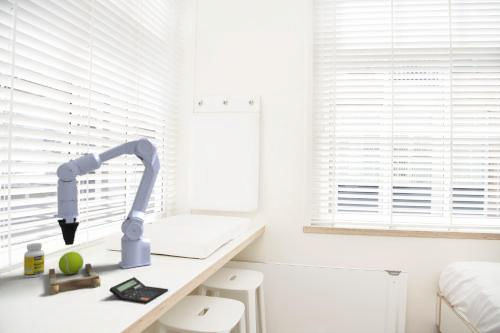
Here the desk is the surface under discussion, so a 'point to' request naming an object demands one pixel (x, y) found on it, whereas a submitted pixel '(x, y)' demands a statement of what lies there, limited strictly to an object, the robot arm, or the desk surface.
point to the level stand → (73, 281)
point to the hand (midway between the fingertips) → (68, 242)
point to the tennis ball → (70, 263)
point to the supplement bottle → (34, 260)
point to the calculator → (136, 291)
